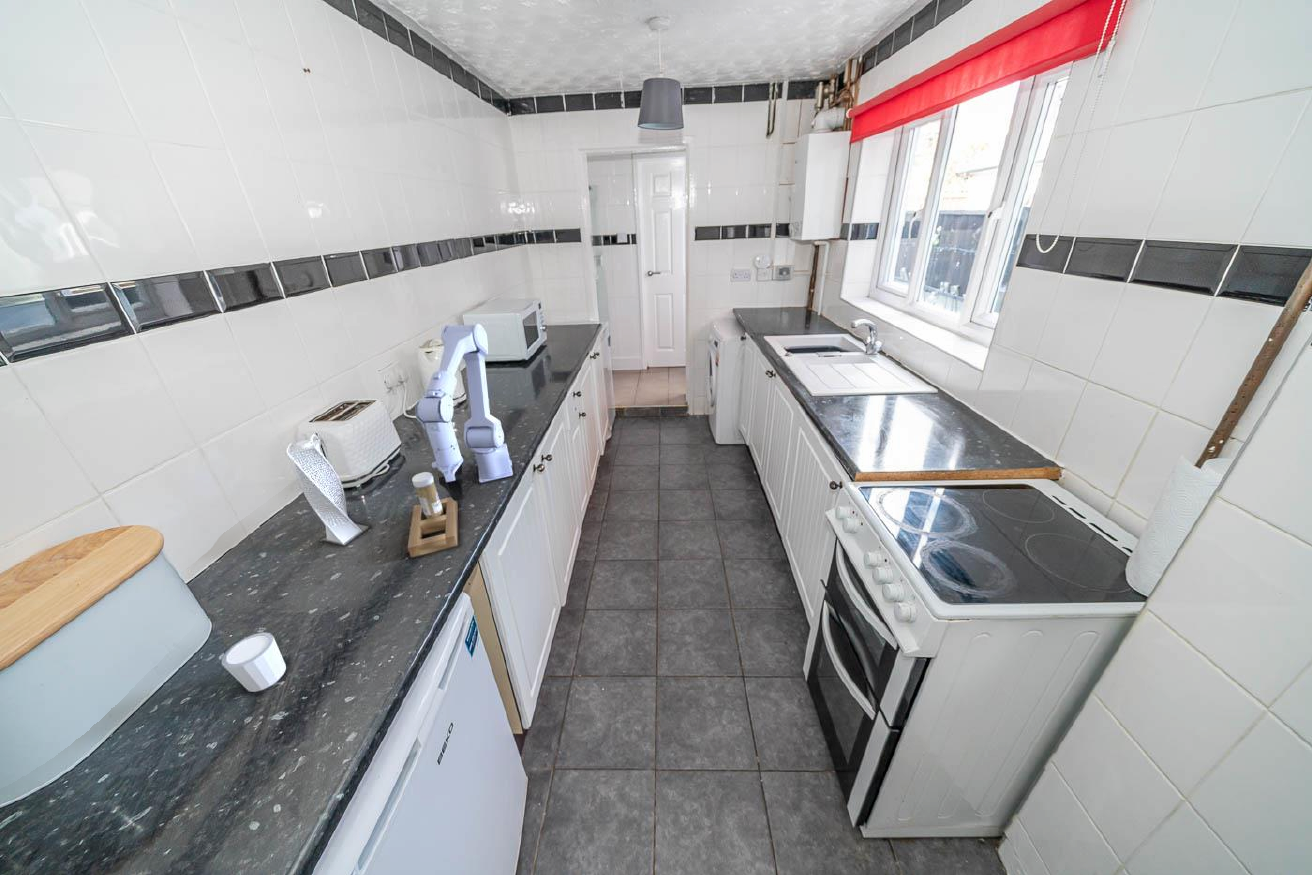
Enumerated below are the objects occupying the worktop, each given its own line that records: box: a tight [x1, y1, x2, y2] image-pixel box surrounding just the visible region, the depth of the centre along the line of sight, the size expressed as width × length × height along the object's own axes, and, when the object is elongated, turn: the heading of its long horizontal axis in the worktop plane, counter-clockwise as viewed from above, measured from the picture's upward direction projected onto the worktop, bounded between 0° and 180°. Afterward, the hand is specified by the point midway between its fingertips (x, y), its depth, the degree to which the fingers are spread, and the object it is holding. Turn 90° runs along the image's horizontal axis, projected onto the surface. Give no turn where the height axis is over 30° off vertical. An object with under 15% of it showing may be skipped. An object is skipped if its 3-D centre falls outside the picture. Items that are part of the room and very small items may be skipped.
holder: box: [407, 496, 459, 558], centre depth 112 cm, size 10×18×3 cm, turn 21°
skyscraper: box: [285, 433, 370, 546], centre depth 106 cm, size 8×8×28 cm
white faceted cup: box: [221, 632, 287, 693], centre depth 77 cm, size 7×7×7 cm
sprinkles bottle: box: [411, 471, 445, 520], centre depth 113 cm, size 5×5×14 cm
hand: (458, 491), depth 115 cm, fingers open, 7 cm apart
